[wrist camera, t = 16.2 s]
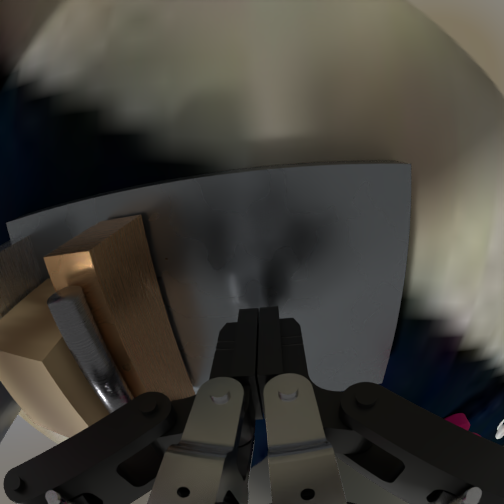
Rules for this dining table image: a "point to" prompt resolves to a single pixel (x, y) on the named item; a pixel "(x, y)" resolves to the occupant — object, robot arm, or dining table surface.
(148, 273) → the sliding jaw
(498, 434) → the white looped part
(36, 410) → the oak block
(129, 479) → the robot arm
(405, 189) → the vise base
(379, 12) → the dining table surface
